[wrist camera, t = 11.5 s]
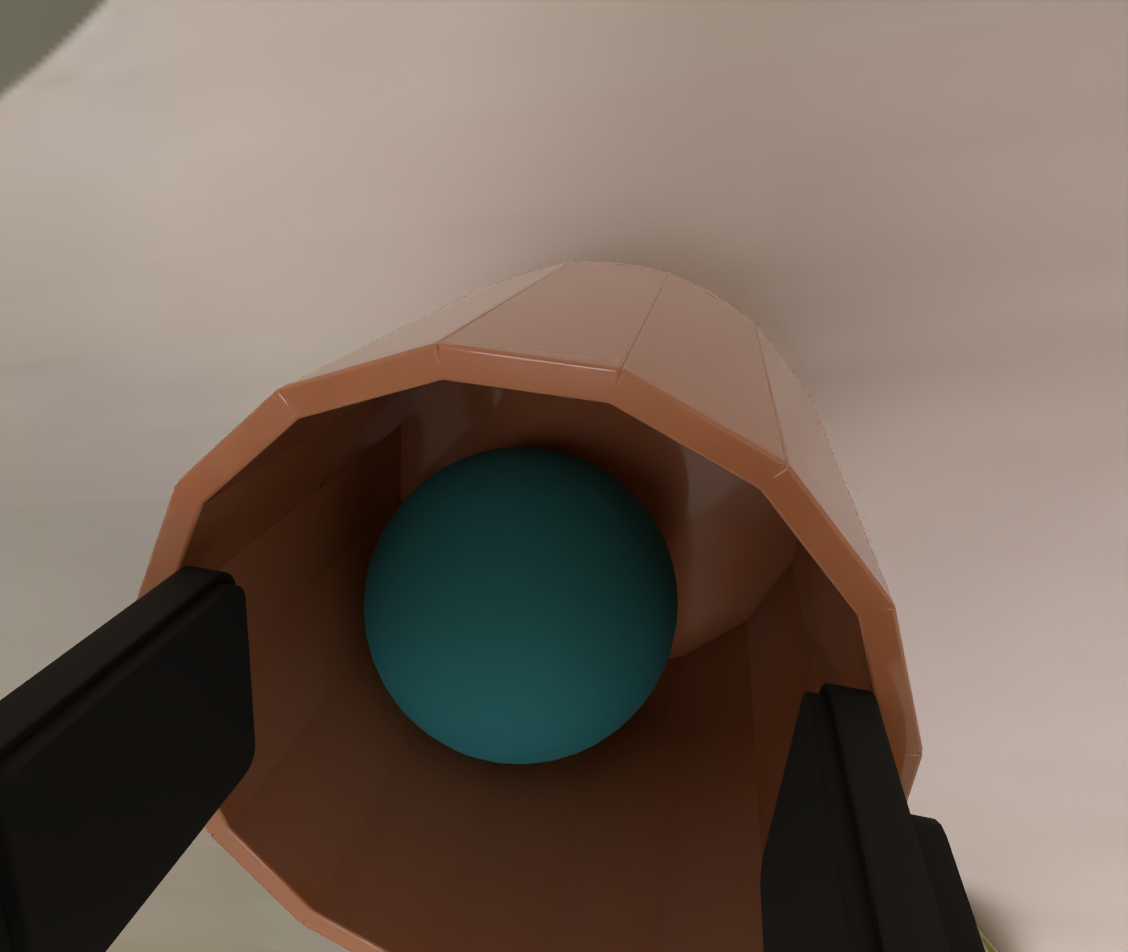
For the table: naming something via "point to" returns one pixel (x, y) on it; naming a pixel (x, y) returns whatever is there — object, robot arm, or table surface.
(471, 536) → the ball
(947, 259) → the table surface
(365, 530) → the terracotta pot
